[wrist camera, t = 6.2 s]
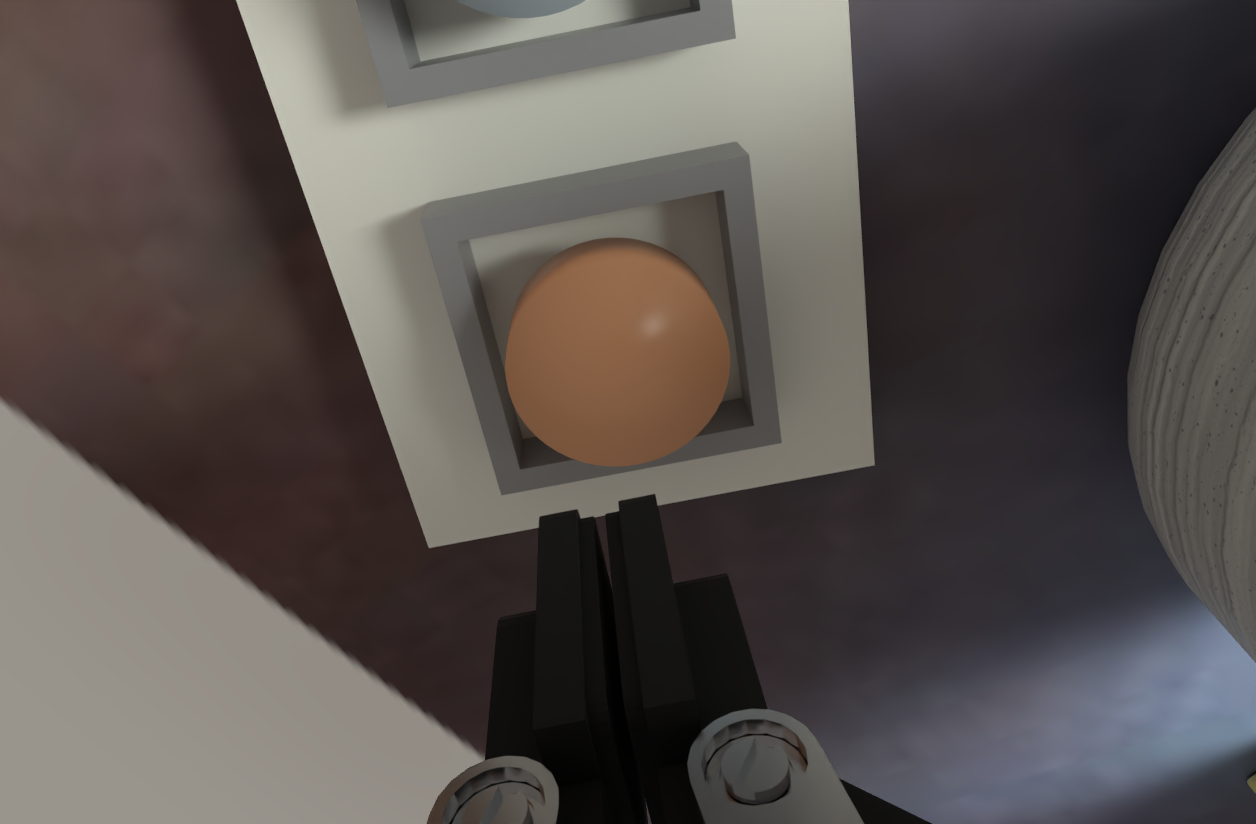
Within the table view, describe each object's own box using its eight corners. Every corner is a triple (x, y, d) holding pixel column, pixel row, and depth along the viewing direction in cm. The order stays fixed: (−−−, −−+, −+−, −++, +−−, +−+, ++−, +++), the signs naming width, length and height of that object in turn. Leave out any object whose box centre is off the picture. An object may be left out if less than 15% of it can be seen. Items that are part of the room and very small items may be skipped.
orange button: (703, 218, 18) (714, 240, 17) (730, 411, 20) (742, 444, 19) (486, 260, 18) (479, 285, 17) (535, 448, 20) (533, 483, 19)
